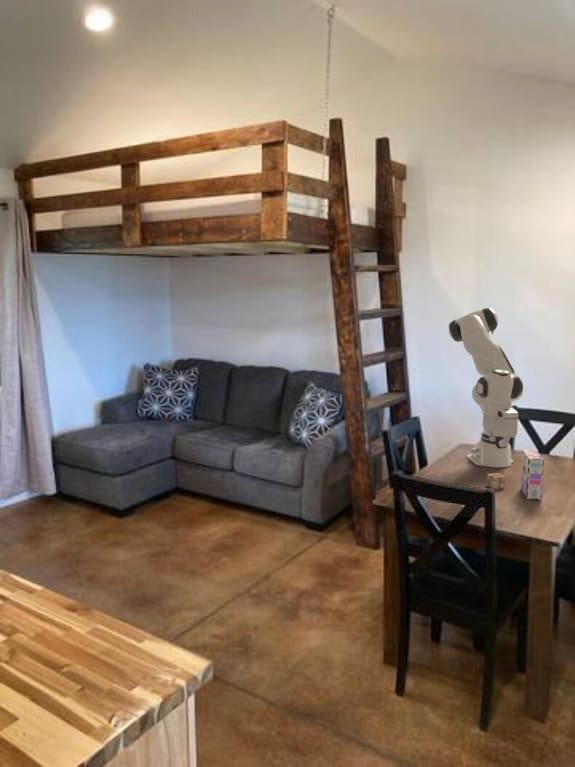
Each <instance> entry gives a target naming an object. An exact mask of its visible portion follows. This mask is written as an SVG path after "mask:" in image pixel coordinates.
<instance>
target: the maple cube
mask: <svg viewBox="0 0 575 767" xmlns="http://www.w3.org/2000/svg"><path fill="white" fill-rule="evenodd" d="M486 477H487V480H486V486H487V487H489V488H491V487H493V488H494V489H493V490H500V489H501V488H502V489H506V476H505V475H503V474H502V473H499V472H496V473H493V472H492V473H487V474H486ZM502 489H501V490H502Z"/></svg>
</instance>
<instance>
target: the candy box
mask: <svg viewBox="0 0 575 767" xmlns="http://www.w3.org/2000/svg"><path fill="white" fill-rule="evenodd" d="M521 453H522V455H521V456H522V457H521V478H520V479H521V481H520V482H521V483H520V490H521V492H522V493H523V495H524V497H525V499H526V500H531V501H533V500H534V501H542V498H543V480H544V462H545V459H544V458H543V456H542V455H541V454H540V453H539V451H538V450H533V449H532V450H531V449H530V450H529V449H522V452H521Z"/></svg>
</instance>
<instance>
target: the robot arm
mask: <svg viewBox="0 0 575 767" xmlns="http://www.w3.org/2000/svg"><path fill="white" fill-rule="evenodd" d="M498 317H499V316H498V315H497V313H496V311H494V309H492V308H491V307H485V308H482V309H479V310H476V311H472V312H470V313H468V314H465V315H463V316H461V317H458V318H457V319H453V320H452V321H451V322H450V323H449V324H448V333H449V335H450V337H451V339H452V340H453V341H455V342H458V343H459V342H460V343H461V342H462V343H463V347H464V349H465V351H466V352H467V353H468V354H469V355H470V356H471V357H472V360H473V363H474V366H475V369H476V371H477V373H478V374H479V375H480V378H479V379H478V380H477V382H476V384H475V385H474V387H473V388H472V390H471V396H472V397H471V398H472V399H473V401H474V403H475V404H477V405H478V407H479V408H480V410H481V412H482V428H483V432H481V433H480V440H479V441H477V442H476V443H475V444H473V446H472V449H471V453H468V454H467V455H466V458H467V459H468V460H469V461H471V462H472V463H473V464H475V466H480V467H490V468H508V467H511V465H512V464H513V463H514V460H513V459H512V446H511V444H510V441H511V440H510V439H511V438H516V437H517V435H518V425H519V424H518V418H519V412H518V411H517V410H516V409H515V408H514V407H513V406H512V403H514V402H517V401H519V400H520V399H521V398H522V396H523V392H524V384H523V380H522V379H521V378H520V376H519V375H518V374H517V373H516V372H515V369H514V368H513V366H512V364H511V363H510V362H511V361H510V360H509V359H508V357H507V355H506V353H505V352H504V350H503V349H502V347H501V346H500V345H498V344H496V342H494V340H492V338H491V336H490V333H491V334H492V335H494V332H495V331H496V329H497V327H498V322H499V319H498Z"/></svg>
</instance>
